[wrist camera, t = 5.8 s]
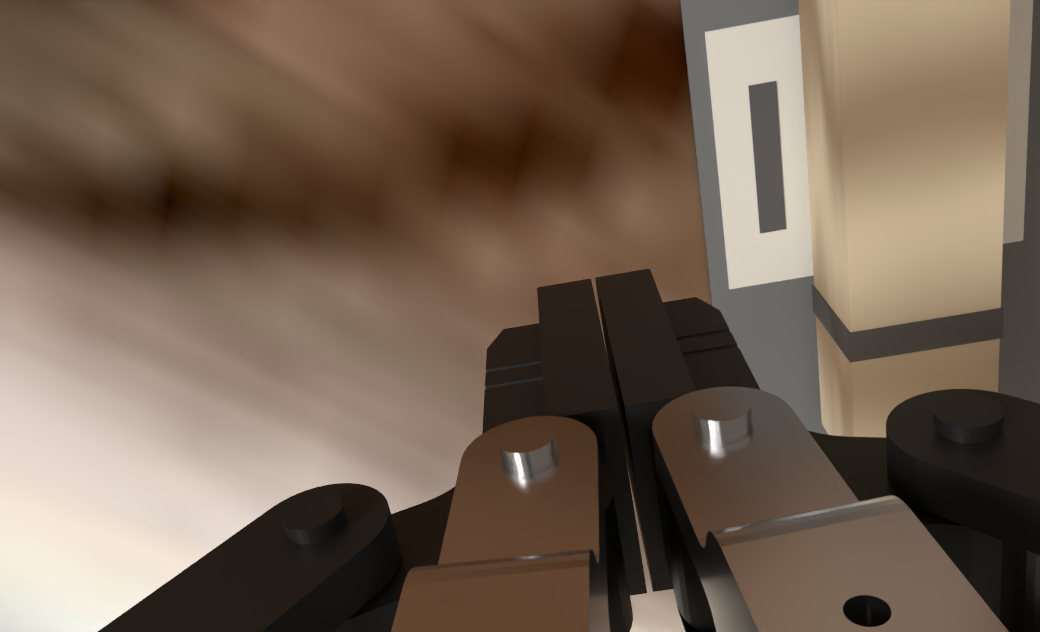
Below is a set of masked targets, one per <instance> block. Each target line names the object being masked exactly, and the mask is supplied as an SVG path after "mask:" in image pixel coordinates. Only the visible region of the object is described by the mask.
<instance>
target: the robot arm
mask: <svg viewBox="0 0 1040 632" xmlns="http://www.w3.org/2000/svg"><path fill="white" fill-rule="evenodd" d="M595 279H596V287H597V294H598V300H599V307H600V313H601V319H602V326H603V332H604V339H605V344H604V339H603V334H602V330H601V325H600V320H599V315H598V311H597V306H596V301H595V296H594V292H593V287H592V282H591V279H586V280H580V281H574V282H568V283H562V284H556V285H550V286H544V287H539V288H537V293H538V308H539V323H538V324H532V325H526V326H520V327H514V328H508V329H503V331H502V332H501V333H500V334H499V335H498V337H497V338H496V339H495V340H494V341H493V343H492V344H491V345H490V346H489V347H488V349H487V360H486V372H487V373H486V378H485V387H486V389H485V397H484V416H483V434H482V435H480V436H479V437H478V438H476V439H475V440H474V441H473V442H472V443H471V444H470V445H469V446H468V447H467V449H466V450H465V452H464V453H463V456H462V459H461V463H460V467H459V472H458V476H457V481H456V485H455V487H454V488H452V489H451V490H449V491H448V492H446V493H444V494H442V495H440V496H438V497H436V498H434V499H432V500H429V501H427V502H424V503H422V504H419V505H416V506H413V507H410V508H408V509H405V510H402V511H399V512H397V513H394V514H391V512H390V509H389V505H388V502H387V500H386V498H385V497H384V496H383V494H381V493H380V492H379V491H377V490H376V489H374V488H371V487H369V486H365V485H361V484H352V483H341V484H332V485H325V486H321V487H316V488H313V489H310V490H307V491H304V492H301V493H299V494H296V495H294V496H292V497H290V498H288V499H286V500H284V501H282V502H280V503H279V504H277V505H276V506H274V507H273V508H271V509H270V510H268V511H267V512H265V513H264V514H263V515H261V516H260V517H258V518H257V519H256V520H254V521H253V522H251V523H250V524H249V525H247V526H246V527H244V528H243V529H242V530H240V531H239V532H237V533H236V534H234V535H233V536H232V537H230V538H229V539H227V540H226V541H225V542H223V543H222V544H220V545H219V546H218V547H216V548H215V549H213V550H212V551H211V552H209V553H208V554H206V555H205V556H204V557H202V558H201V559H199V560H198V561H197V562H195V563H194V564H192V565H191V566H190V567H188V568H187V569H185V570H184V571H183V572H181V573H180V574H178V575H177V576H175V577H174V578H173V579H171V580H170V581H168V582H167V583H166V584H164V585H163V586H161V587H160V588H159V589H157V590H156V591H154V592H153V593H152V594H150V595H149V596H147V597H146V598H145V599H143V600H142V601H140V602H139V603H138V604H136V605H135V606H133V607H132V608H131V609H129V610H128V611H126V612H125V613H123V614H122V615H121V616H119V617H118V618H116V619H115V620H114V621H112V622H111V623H109V624H108V625H107V626H105V627H104V628H102V629H101V630H100V631H98V632H629V631H630V629H631V626H632V621H633V613H632V606H631V600H630V595H636V594H643V593H647V590H646V584H645V577H644V571H643V565H642V558H641V552H640V545H639V539H638V533H637V526H636V520H635V513H634V507H633V501H632V494H631V488H630V482H631V487H632V492H633V497H634V502H635V507H636V512H637V516H638V521H639V526H640V531H641V536H642V541H643V546H644V550H645V555H646V560H647V565H648V570H649V575H650V579H651V584H652V589H653V592H654V591H661V590H668V589H674V594H675V598H676V602H677V608H678V615H679V622H680V629H681V632H1040V404H1039V403H1035V402H1032V401H1028V400H1024V399H1021V398H1017V397H1013V396H1010V395H1006V394H1002V393H997V392H993V391H986V390H977V389H946V390H937V391H932V392H927V393H923V394H920V395H916V396H914V397H912V398H909V399H907V400H905V401H903V402H902V403H900V404H898V405H897V406H896V407H895V408H894V409H893V410H892V411H891V412H890V414H889V415H888V417H887V421H886V438H884V437H848V436H834V435H827V434H820V433H816V432H812V431H808V430H807V429H806V427H805V426H804V425H803V423H802V422H801V420H800V419H799V418H798V416H797V415H796V414H795V412H794V411H793V409H792V408H791V407H790V406H789V405H788V404H787V403H786V402H785V401H784V400H782V399H781V398H779V397H778V396H775V395H773V394H771V393H768V392H765V391H762V390H760V388H759V386H758V384H757V382H756V380H755V378H754V376H753V374H752V372H751V370H750V368H749V366H748V364H747V362H746V360H745V358H744V356H743V354H742V352H741V350H740V348H738V346H737V343H736V341H735V339H734V337H733V335H732V333H730V329H729V327H728V325H727V323H726V321H725V319H724V317H723V315H722V313H721V311H720V310H718V309H717V308H715V307H713V306H711V305H709V304H707V303H706V302H704V301H702V300H700V299H698V298H696V297H694V298H688V299H682V300H676V301H670V302H664V303H663V302H662V300H661V297H660V294H659V292H658V289H657V287H656V284H655V281H654V279H653V276H652V273H651V271H650V269H644V270H638V271H633V272H627V273H621V274H615V275H609V276H603V277H597V278H595ZM605 345H606V348H605ZM606 351H607V353H606ZM628 473H629V475H628ZM629 478H630V481H629Z"/></svg>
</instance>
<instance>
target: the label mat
mask: <svg viewBox="0 0 1040 632" xmlns="http://www.w3.org/2000/svg"><path fill="white" fill-rule="evenodd" d="M680 2H681V11H682V21H683V31H684V40H685V50H686V59H687V69H688V79H689V88H690V98H691V108H692V117H693V127H694V136H695V146H696V156H697V165H698V175H699V185H700V194H701V204H702V213H703V223H704V233H705V242H706V252H707V262H708V271H709V281H710V290H711V300H712V306H713V307H715V308H717V309H718V310H720V311H721V313H722V315H723V317H724V319H725V321H726V323H727V325H728V327H729V329H730V333H732V335H733V337H734V339H735V341H736V343H737V346H738V348H740V350H741V352H742V354H743V356H744V358H745V360H746V362H747V364H748V366H749V368H750V370H751V372H752V374H753V376H754V378H755V380H756V382H757V384H758V386H759V388H760V390H762V391H765V392H768V393H771V394H773V395H775V396H778V397H779V398H781V399H782V400H784V401H785V402H786V403H787V404H788V405H789V406H790V407H791V408H792V409H793V411H794V412H795V414H796V415H797V416H798V418H799V419H800V420H801V422H802V423H803V425H804V426H805V427H806V429H807V430H808V431H812V432H816V433H820V434H827V435H828V433H827V432H826V430H825V428H824V426H823V425H822V419H821V401H820V383H819V365H818V347H817V329H816V315H815V313H814V312H813V299H812V285H814V275H813V257H812V238H811V220H810V202H809V184H808V166H807V148H806V130H805V112H804V94H803V76H802V58H801V39H800V21H799V3H798V0H680ZM1001 307H1003V308H1004V317H1003V338H1000V345H999V376H998V393H1002V394H1006V395H1010V396H1013V397H1017V398H1021V399H1024V400H1028V401H1032V402H1035V403H1039V404H1040V0H1011V4H1010V35H1009V66H1008V97H1007V128H1006V159H1005V190H1004V221H1003V252H1002V283H1001Z"/></svg>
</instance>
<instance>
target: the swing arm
mask: <svg viewBox="0 0 1040 632" xmlns="http://www.w3.org/2000/svg"><path fill="white" fill-rule="evenodd" d="M798 3H799V21H800V39H801V58H802V76H803V94H804V112H805V130H806V148H807V166H808V184H809V202H810V220H811V238H812V257H813V275H814V285H812V299H813V312H814V313H815V315H816V329H817V347H818V365H819V383H820V401H821V419H822V425H823V426H824V428H825V430H826V432H827V433H828V435H834V436H848V437H884V438H886V421H887V417H888V415H889V414H890V412H891V411H892V410H893V409H894V408H895V407H896V406H897V405H898V404H900V403H902V402H903V401H905V400H907V399H909V398H912V397H914V396H916V395H920V394H923V393H927V392H932V391H937V390H946V389H977V390H986V391H993V392H997V393H998V376H999V345H1000V338H1003V317H1004V308H1003V307H1001V283H1002V252H1003V221H1004V190H1005V159H1006V128H1007V97H1008V66H1009V35H1010V4H1011V0H798Z"/></svg>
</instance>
